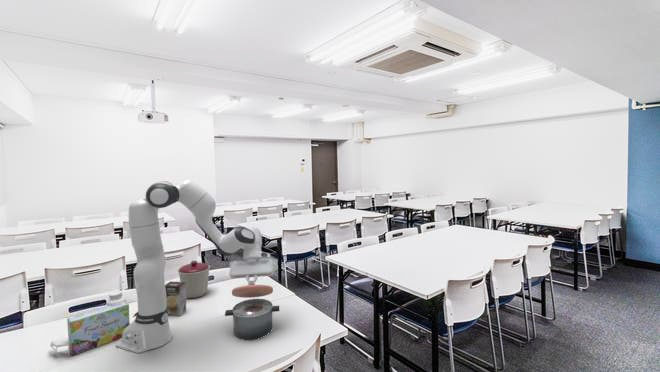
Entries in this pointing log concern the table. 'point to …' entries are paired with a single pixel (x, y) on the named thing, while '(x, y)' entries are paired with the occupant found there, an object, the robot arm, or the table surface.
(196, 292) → the canister
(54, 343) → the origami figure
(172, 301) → the coffee box
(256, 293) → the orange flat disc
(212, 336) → the table surface
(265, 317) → the cooker pot
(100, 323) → the snack box
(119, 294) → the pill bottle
